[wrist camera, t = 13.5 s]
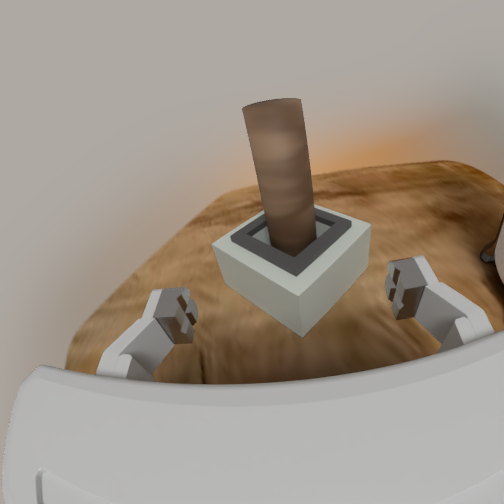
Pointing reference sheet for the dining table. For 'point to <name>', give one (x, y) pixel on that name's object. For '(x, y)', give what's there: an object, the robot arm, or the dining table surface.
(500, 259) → the coffee press
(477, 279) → the dining table surface
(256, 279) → the collar block
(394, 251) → the dining table surface
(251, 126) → the dowel
